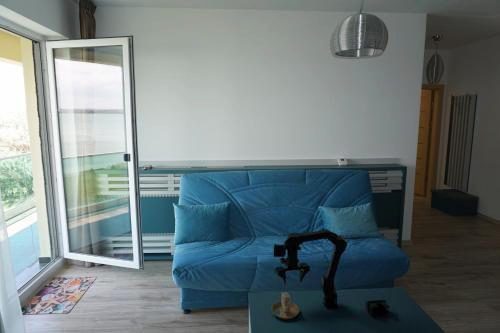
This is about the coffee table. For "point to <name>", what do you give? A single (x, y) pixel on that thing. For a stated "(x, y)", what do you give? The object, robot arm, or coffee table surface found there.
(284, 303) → the taupe streaky block
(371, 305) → the end cap
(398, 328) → the coffee table surface
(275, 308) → the plant saucer
